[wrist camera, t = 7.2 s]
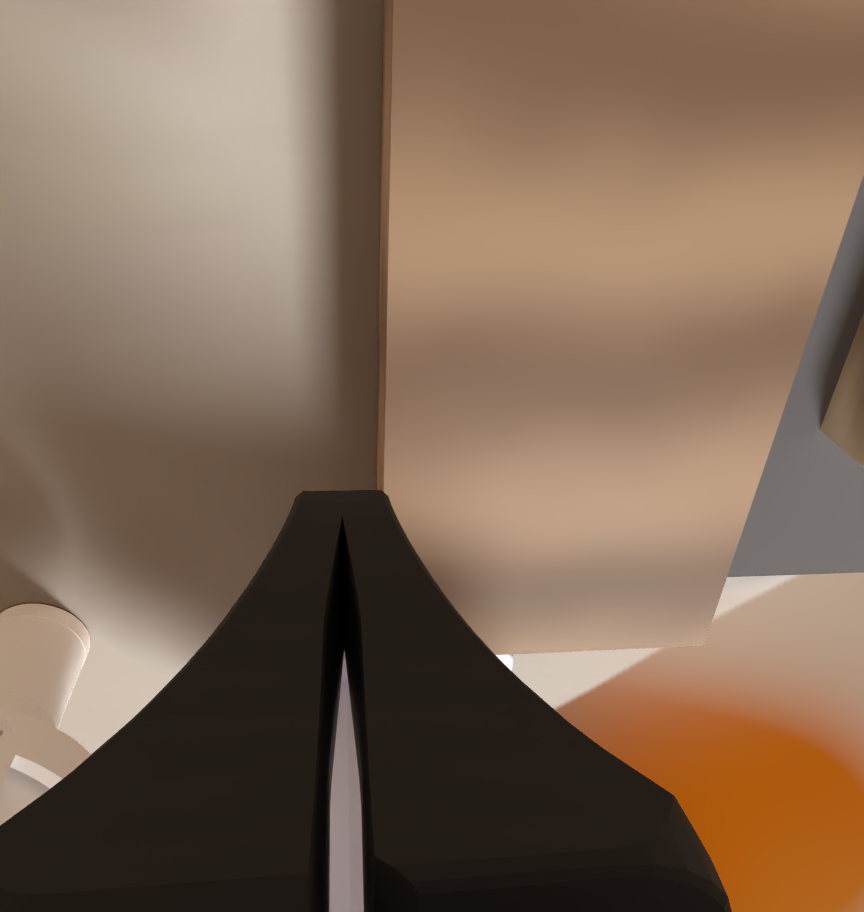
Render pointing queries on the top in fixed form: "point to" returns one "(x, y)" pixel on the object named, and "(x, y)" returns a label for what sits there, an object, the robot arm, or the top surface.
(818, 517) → the rubber mat
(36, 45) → the top surface
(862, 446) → the birch tile
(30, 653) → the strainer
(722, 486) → the walnut deck
